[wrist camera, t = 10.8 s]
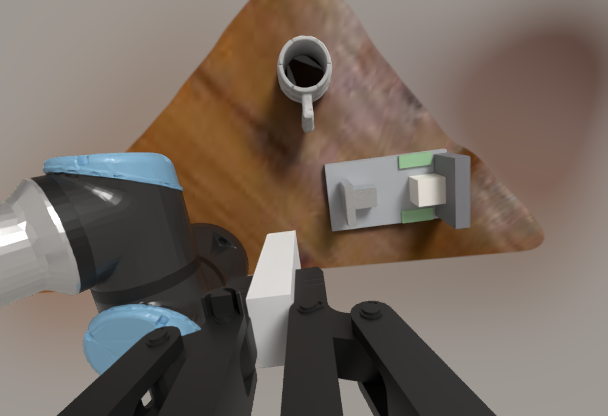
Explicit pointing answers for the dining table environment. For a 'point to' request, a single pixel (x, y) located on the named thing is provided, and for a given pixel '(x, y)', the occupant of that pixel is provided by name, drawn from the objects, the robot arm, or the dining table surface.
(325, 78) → the mug
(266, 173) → the dining table surface
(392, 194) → the bench
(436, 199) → the block
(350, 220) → the plunger
